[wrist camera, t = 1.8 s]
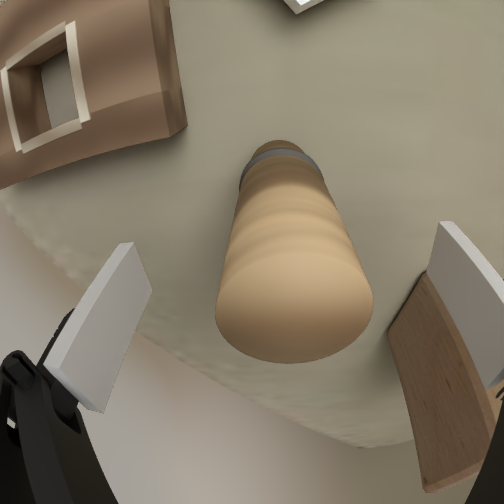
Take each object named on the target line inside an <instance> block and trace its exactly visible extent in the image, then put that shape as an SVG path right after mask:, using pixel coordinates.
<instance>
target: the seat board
mask: <svg viewBox="0 0 504 504" xmlns="http://www.w3.org/2000/svg"><path fill="white" fill-rule="evenodd" d="M65 49H68V57H69V64H70V70H71V77H72V83H73V88H74V94H75V99H76V104H77V109H78V113H79V118H77V119H74V120H72V121H69V122H67V123H65V124H62V125H60V126H58V127H55V128H53V129H51V125H50V121H49V117H48V112H47V107H46V103H45V97H44V92H43V86H42V80H41V73H40V66H39V65H40V64H41V63H43V62H45V61H46V60H48V59H50V58H51V57H53V56H55V55H56V54H58V53H60V52H62V51H64V50H65ZM187 125H188V124H187V118H186V113H185V107H184V101H183V95H182V89H181V83H180V77H179V71H178V64H177V58H176V51H175V44H174V37H173V30H172V23H171V15H170V7H169V0H7V1H6V2H5V3H4V4H2V5H1V6H0V190H1V189H3V188H6V187H8V186H10V185H13V184H15V183H17V182H20V181H22V180H25V179H27V178H30V177H32V176H35V175H37V174H40V173H43V172H45V171H48V170H51V169H54V168H57V167H60V166H62V165H65V164H68V163H71V162H75V161H78V160H81V159H84V158H87V157H91V156H94V155H98V154H101V153H105V152H108V151H112V150H116V149H120V148H123V147H127V146H132V145H136V144H140V143H144V142H149V141H153V140H158V139H163V138H168V137H171V136H172V135H174V134H175V133H177V132H178V131H180V130H181V129H183V128H184V127H186V126H187Z"/></svg>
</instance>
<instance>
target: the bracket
mask: <svg viewBox="0 0 504 504" xmlns="http://www.w3.org/2000/svg"><path fill="white" fill-rule="evenodd" d="M283 1H284V2H285V3H286V4H287V5H288V6H289V7H290V8H291V9H292V10H293V11H294V13H295V14H296V15H297V14H298V13H300V12H302V11H304V10H306V9H308V8H310V7H312V6H314V5H316V4H318V3H320V2H322V1H324V0H283Z"/></svg>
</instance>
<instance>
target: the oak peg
mask: <svg viewBox="0 0 504 504" xmlns="http://www.w3.org/2000/svg"><path fill="white" fill-rule="evenodd" d="M372 312H373V296H372V291H371V289H370V286H369V283H368V281H367V278H366V276H365V273H364V271H363V268H362V266H361V263H360V261H359V258H358V256H357V253H356V251H355V249H354V246H353V244H352V242H351V239H350V237H349V235H348V232H347V230H346V228H345V226H344V223H343V221H342V219H341V217H340V215H339V212H338V210H337V208H336V206H335V204H334V202H333V200H332V197H331V195H330V193H329V191H328V189H327V187H326V185H325V183H324V179H323V176H322V173H321V171H320V170H319V168H318V166H317V165H316V163H315V162H314V161H313V160H312V159H311V158H310V157H309V156H307V155H306V154H304V152H303V151H302V150H301V149H300V148H299V147H298V146H297V145H295V144H293V143H291V142H288V141H283V140H275V141H271V142H268V143H265V144H264V145H262V146H261V147H259V148H258V149H257V150H256V152H255V153H254V155H253V157H252V159H251V161H250V162H249V163H248V164H247V165H246V167H245V169H244V171H243V173H242V176H241V180H240V185H239V197H238V201H237V206H236V210H235V215H234V219H233V224H232V229H231V233H230V238H229V243H228V248H227V252H226V257H225V262H224V267H223V272H222V277H221V282H220V287H219V291H218V297H217V302H216V307H215V319H216V324H217V326H218V328H219V331H220V332H221V334H222V335H223V337H224V338H225V339H226V340H227V341H228V342H229V343H230V344H231V345H232V346H233V347H235V348H236V349H237V350H239V351H241V352H242V353H244V354H246V355H248V356H251V357H253V358H256V359H259V360H263V361H268V362H273V363H285V364H291V363H304V362H310V361H315V360H318V359H322V358H325V357H327V356H330V355H332V354H335V353H337V352H339V351H340V350H342V349H344V348H345V347H347V346H348V345H350V344H351V343H352V342H353V341H355V340H356V339H357V338H358V337H359V336H360V335H361V333H362V332H363V331H364V330H365V328H366V327H367V325H368V323H369V321H370V319H371V316H372Z"/></svg>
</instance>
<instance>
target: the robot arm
mask: <svg viewBox="0 0 504 504" xmlns="http://www.w3.org/2000/svg"><path fill="white" fill-rule="evenodd" d="M426 273H427V275H428V277H429V278H430V280H431V282H432V283H433V285H434V287H435V288H436V290H437V292H438V293H439V295H440V297H441V299H442V300H443V302H444V304H445V306H446V308H447V310H448V311H449V313H450V315H451V317H452V319H453V321H454V323H455V325H456V327H457V328H458V330H459V332H460V334H461V336H462V338H463V341H464V343H465V345H466V347H467V349H468V351H469V353H470V355H471V358H472V360H473V362H474V364H475V367H476V369H477V371H478V374H479V376H480V379H481V381H482V384H483V386H484V389H485V390H486V389H488V388H491V387H493V386H495V385H498V384H499V383H500V382H501V381H502V380H503V379H504V279H503V280H502V278H501V277H500V276H499V274H498V273H497V272H496V271H495V269H494V268H493V267H492V266H491V264H490V263H489V262H488V261H487V260H486V258H485V257H484V256H483V255H482V254H481V252H480V251H479V250H478V249H477V248H476V247H475V245H474V244H473V243H472V242H471V241H470V240H469V239H468V238H467V237H466V235H465V234H464V233H463V232H462V231H461V230H460V229H459V228H458V227H457V226H456V225H455V224H454V223H453V222H452V221H440V222H439V223H438V227H437V232H436V236H435V241H434V245H433V249H432V253H431V257H430V261H429V264H428V268H427V272H426ZM152 291H153V290H152V288H151V285H150V283H149V280H148V278H147V275H146V273H145V270H144V268H143V265H142V262H141V260H140V257H139V254H138V252H137V249H136V246H135V243H134V242H130V243H120V244H119V245H118V246H117V248H116V249H115V250H114V252H113V253H112V255H111V256H110V257H109V259H108V260H107V262H106V263H105V264H104V266H103V267H102V269H101V270H100V272H99V273H98V274H97V276H96V277H95V279H94V280H93V282H92V283H91V285H90V286H89V288H88V289H87V291H86V292H85V294H84V295H83V297H82V298H81V300H80V302H79V303H78V305H77V306H76V308H74V309H72V310H71V311H70V312H69V313H68V314H67V315H66V316H65V317H64V318H63V320H62V322H61V323H60V325H59V327H58V329H57V330H56V332H55V333H54V337H52V339H51V340H50V342H49V344H48V345H47V347H46V349H45V351H44V353H43V354H42V356H41V358H40V360H39V362H38V364H37V365H36V366H35V365H34V364H33V363H32V362H31V360H30V359H29V358H28V357H27V356H26V355H25V353H23V352H22V351H20V350H16V351H14V352H11V353H10V354H9V355H7V357H6V358H5V359H4V360H3V362H2V364H1V366H0V504H118V502H117V500H116V498H115V496H114V494H113V492H112V490H111V488H110V486H109V484H108V482H107V480H106V478H105V476H104V473H103V471H102V469H101V467H100V464H99V462H98V459H97V457H96V454H95V452H94V450H93V447H92V444H91V442H90V439H89V436H88V433H87V430H86V428H85V425H84V422H83V419H82V415H81V413H80V411H79V409H78V408H77V405H78V402H80V403H81V404H82V405H83V406H84V407H85V408H87V409H88V410H92V411H96V412H99V413H104V411H105V408H106V405H107V402H108V399H109V397H110V394H111V391H112V388H113V386H114V383H115V380H116V377H117V375H118V372H119V369H120V367H121V365H122V362H123V359H124V357H125V354H126V352H127V349H128V347H129V344H130V342H131V339H132V337H133V335H134V332H135V330H136V328H137V325H138V323H139V321H140V318H141V316H142V314H143V311H144V309H145V307H146V305H147V302H148V300H149V298H150V296H151V293H152ZM503 392H504V387H503V388H502V389H501V390H500V391H499V392H498V393H497V395H496V397H495V398H497V399H498V397H499V396H500V395H501V394H502V393H503ZM500 400H502V405H501V409H500V413H499V416H498V420H497V424H496V427H495V430H494V434H493V437H492V440H491V443H490V446H489V449H488V451H487V454H486V457H485V460H484V462H483V465H482V467H481V470H480V472H479V474H478V477H477V479H476V481H475V483H474V486H473V488H472V490H471V492H470V494H469V496H468V498H467V500H466V502H465V504H504V396H503V397H502V398H501V399H500ZM7 418H10V419H11V420H12V421H13V422H15V428H12V427H11V426H9V425H8V424H7Z"/></svg>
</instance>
